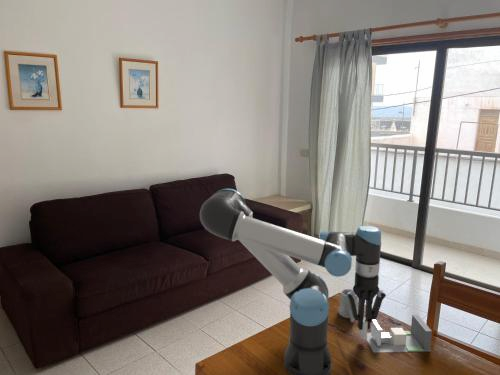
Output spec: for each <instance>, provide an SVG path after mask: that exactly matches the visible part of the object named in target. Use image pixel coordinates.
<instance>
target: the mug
mask: <svg viewBox="0 0 500 375" xmlns="http://www.w3.org/2000/svg"><path fill="white" fill-rule="evenodd" d="M351 290H353V288H351V289H350V288H349V289H348V288H346V289H342V290H341V292H340V297H339V308H338V311H337V312H338V314H339V315H340V316H341V317H343V318H346V319H350V323H355V321H356V320H355V319H354V317H353V315H352V310H351V305H350V301H349V298H348V296H347V294H346V292H347V291H349V292H350V291H351ZM354 301H355V305H356V310H357V315H358V303H359V299H358V296H357V295H356V294H354Z"/></svg>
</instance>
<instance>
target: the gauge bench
mask: <svg viewBox="0 0 500 375" xmlns="http://www.w3.org/2000/svg"><path fill="white" fill-rule="evenodd" d="M411 317H412V318H411V323H410V324H411V325H410V331H409V330H404V331H405V333H406V334H407V338H406V345H394V344H393V343H392V341H391V343H381V346H377V345H376V343H375V341H374V340H373V338H372V336H371V332H367V340H366V341H367V342H368V345H369V347H370V348H371V350H372V352H373V353H403V352H404V353H406V352H407V353H411V352H413V353H414V352H415V353H416V352H431V344H432V335H433V334H432V333H433V330H432V329H431V328H430V327H429V326H428V324H426V322H425V321H424V320H423V319H422V318H421V317H420V315H419V314H412V315H411ZM384 332H385V331H382V333H384ZM387 332H388V331H387ZM388 333H389V335H390V331H389V332H388Z"/></svg>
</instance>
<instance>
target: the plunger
mask: <svg viewBox="0 0 500 375" xmlns="http://www.w3.org/2000/svg"><path fill="white" fill-rule="evenodd" d="M371 321H372V322H371V330H370V333H371V336H372V338H373V340H374V341H375V343H376V345H377V346H381V343H391V336H390V335H389V333H388V331H386V332H385V331H383V329H382V328H381V326H380V325H379V323H378V321H377V319H376V320H374V319H373V320H371ZM382 332H384V333H382Z"/></svg>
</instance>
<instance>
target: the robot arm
mask: <svg viewBox="0 0 500 375" xmlns="http://www.w3.org/2000/svg"><path fill="white" fill-rule="evenodd" d="M253 213H254V212H253V211H252V210H251V209H250V207H249V206H248V205H247V204H246V200H245V198H244V196H243V195H242V194H241V193H240V192H239V191H238V190H236V189H233V188H223V189H219V190H218V191H216V192H215V193H213V194H212V195H211V196H210V197H209V198H208V199H207V200H205V201H204V202H203V204H202V205H201V207H200V211H199V220H200V223H201V225H202V226H203V227H204V229H205V230H206V231H208V232H209V233H210V234H211V235H214V236H216V237H218V238H221V239H225V240H228V241H231V242H236V241H237V240H238V241H239V242H240V243H241V244H242V245H243V246H244V247H245V248H246V249H247V250H248V251H249V252H250V253H251V254H252V256H254V257H255V259H257V261H258V262H259V263H260V264H261V265H262V266H263V267H264V268H266V270H268V272H269V274H271V275H272V276H273V277H274V278H275V279H276V280H277V281H278V282H279V283H280V284H281V286H282V290H283V294H284V295H285V296H286V297H287V298H288V299H289V300H290V301H289V311H290V312H289V318H290V319H289V342H288V344H287V345H286V346H287V347H286V349H285V352H284V355H283V366H284V369H285V371H286V372H288V373H289V374H290V375H330V374H331V372H332V369H333V368H332V366H333V359H332V356H331V353H330V348H329V345H328V332H329V331H328V328H329V326H328V325H329V312H330V305H329V304H330V303H329V288H328V285H327V283H326V281H325V280H324V279H323V277H321V276H320V275H319V274H317V273H314V272H311V270H309V269H308V268H307V267H305V268H304V267H300V266H299V265H298V264H297V263H296V262H295V260H294V259H293V258H295V259H298V260H300V261H305V262H308V263H309V264H314V265H316V266H319V267H322V268H325V270H326V271H327V272H328V273H329V275H331V276H333V277H343V276H345V275H348V274H349V272H350V271H351V269H352V264H353V259H352V257H355V268H354V270H355V272H354V285H353V287H352V290H351V291H350V292H349V291H347V292H346V294H347V296H348V298H349V301H350V305H351V310H352V315H353V317H354V319H355V320H354V321H357V327H358V330H359V336H360V337H361V340H366V341H367V333H368V330H370V329H371V324H372V320H376V321H377V319H378V318H377V317H378V316H379V313H380V309H381V306H382V303H383V300H384V299H385V297H386V296H387V294H386V293H385V291H384V290H382V289H380V288H379V281H380V280H379V279H380V275H379V274H380V265H381V262H380V261H381V250H382V249H381V248H382V231H381V229H380V228H378V227H376V226H372V225H362V226H361V225H360V226H359V227H357V230H356V232H348V231H347V232H345V231H332V230H330V231H327V230H326V231H321V232H320V233H319V238H316V237H315V236H310V235H308V234H305V233H301V232H298V231H295V230H292V229H289V228H286V227H285V228H284V227H282V226H279V225H275V224H273V223H270V222H266V221H263V220H260V219H257V218H254V217H253V216H254V215H253ZM354 294H356V295H357V296H358V300H359V303H358V315H357V310H356V305H355V301H354ZM374 298H375V299H374Z"/></svg>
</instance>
